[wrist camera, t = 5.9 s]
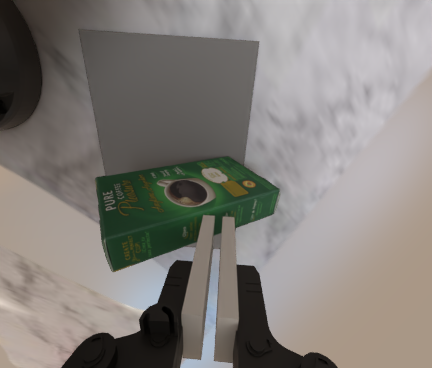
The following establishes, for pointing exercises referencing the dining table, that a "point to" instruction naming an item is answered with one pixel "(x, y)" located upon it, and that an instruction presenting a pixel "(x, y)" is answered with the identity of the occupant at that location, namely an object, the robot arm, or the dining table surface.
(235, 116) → the slate mat
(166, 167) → the coffee box
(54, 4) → the dining table surface
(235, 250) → the robot arm
